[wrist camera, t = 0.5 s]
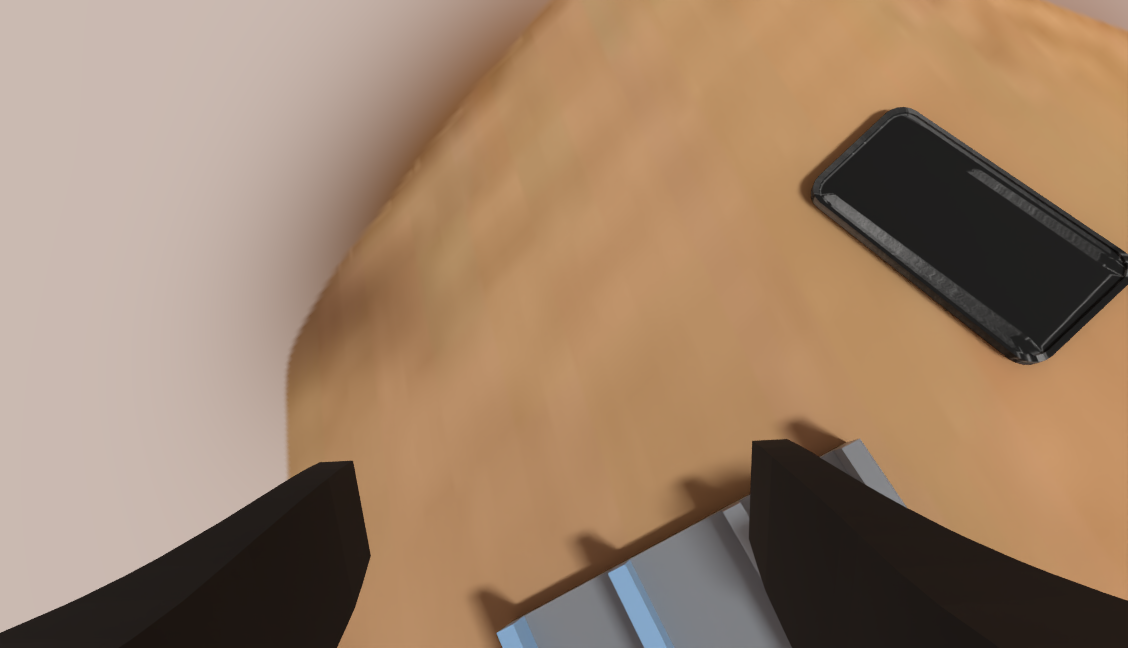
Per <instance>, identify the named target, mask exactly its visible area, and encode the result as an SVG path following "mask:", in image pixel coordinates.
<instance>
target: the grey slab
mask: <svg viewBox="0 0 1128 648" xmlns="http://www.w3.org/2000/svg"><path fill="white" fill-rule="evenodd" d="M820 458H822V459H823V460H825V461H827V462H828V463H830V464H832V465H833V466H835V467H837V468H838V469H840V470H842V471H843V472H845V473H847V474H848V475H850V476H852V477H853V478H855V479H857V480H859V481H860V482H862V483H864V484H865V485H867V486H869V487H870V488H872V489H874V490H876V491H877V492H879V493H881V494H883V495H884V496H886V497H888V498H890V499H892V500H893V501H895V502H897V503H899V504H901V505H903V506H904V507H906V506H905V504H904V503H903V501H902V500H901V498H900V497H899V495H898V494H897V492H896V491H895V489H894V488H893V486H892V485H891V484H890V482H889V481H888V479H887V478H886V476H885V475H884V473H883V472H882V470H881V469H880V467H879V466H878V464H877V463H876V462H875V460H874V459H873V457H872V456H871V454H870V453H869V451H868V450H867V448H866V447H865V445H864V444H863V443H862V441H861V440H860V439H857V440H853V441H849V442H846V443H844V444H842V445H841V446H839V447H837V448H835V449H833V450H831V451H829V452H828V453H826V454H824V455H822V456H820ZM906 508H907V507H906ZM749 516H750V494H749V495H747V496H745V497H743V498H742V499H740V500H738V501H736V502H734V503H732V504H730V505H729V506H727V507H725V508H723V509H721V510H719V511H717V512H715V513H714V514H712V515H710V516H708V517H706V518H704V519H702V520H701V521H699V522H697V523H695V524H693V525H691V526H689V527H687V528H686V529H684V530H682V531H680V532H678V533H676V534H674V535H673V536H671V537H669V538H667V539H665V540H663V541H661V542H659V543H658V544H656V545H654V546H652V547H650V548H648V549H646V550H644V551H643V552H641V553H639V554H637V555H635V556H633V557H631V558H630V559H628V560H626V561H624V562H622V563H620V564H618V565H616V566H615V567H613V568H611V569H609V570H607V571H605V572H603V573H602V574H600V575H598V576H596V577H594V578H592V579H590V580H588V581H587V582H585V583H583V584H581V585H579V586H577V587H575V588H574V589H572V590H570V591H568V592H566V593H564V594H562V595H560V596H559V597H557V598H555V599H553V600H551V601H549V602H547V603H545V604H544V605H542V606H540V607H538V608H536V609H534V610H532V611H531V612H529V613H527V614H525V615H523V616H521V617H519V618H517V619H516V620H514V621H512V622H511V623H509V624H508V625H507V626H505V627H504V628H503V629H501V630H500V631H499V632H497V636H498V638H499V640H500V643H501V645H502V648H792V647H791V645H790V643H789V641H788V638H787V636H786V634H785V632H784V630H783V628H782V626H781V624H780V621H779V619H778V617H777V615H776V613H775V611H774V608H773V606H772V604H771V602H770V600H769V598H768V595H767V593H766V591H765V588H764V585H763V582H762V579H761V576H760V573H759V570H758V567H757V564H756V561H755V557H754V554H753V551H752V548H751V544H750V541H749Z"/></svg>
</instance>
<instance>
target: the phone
mask: <svg viewBox="0 0 1128 648" xmlns="http://www.w3.org/2000/svg"><path fill="white" fill-rule="evenodd" d="M811 199H812V201H813V203H814V204H815V205H816V206H817V208H819V209H820V210H821V211H822V212H824V213H825V214H826V215H828V216H829V217H830V218H831V219H833V220H834V221H835V222H836V223H838V224H839V225H840V226H841V227H843V228H844V229H845V230H847V231H848V232H849V233H850V234H852V235H853V236H854V237H855V238H857V239H858V240H859V241H860V242H862V243H863V244H864V245H865V246H867V247H868V248H869V249H871V250H872V251H873V252H874V253H876V254H877V255H878V256H879V257H881V258H882V259H883V260H884V261H886V262H887V263H888V264H889V265H891V266H892V267H893V268H895V269H896V270H897V271H898V272H900V273H901V274H902V275H903V276H905V277H906V278H907V279H908V280H910V281H911V282H912V283H913V284H915V285H916V286H917V287H919V288H920V289H921V290H922V291H924V292H925V293H926V294H927V295H929V296H930V297H931V298H932V299H934V300H935V301H936V302H938V303H939V304H940V305H941V306H943V307H944V308H945V309H946V310H948V311H949V312H950V313H951V314H953V315H954V316H955V317H956V318H958V319H959V320H960V321H962V322H963V323H964V324H965V325H967V326H968V327H969V328H970V329H972V330H973V331H974V332H975V333H977V334H978V335H979V336H980V337H982V338H983V339H984V340H986V341H987V342H988V343H989V344H991V345H992V346H993V347H994V348H996V349H997V350H998V351H999V352H1001V353H1002V354H1003V355H1005V356H1006V357H1007V358H1008V359H1010V360H1012V361H1013V362H1016V363H1019V364H1023V365H1032V364H1035V363H1039V362H1042V361H1044V360H1047V359H1048V358H1050V357H1051V356H1053V355H1054V354H1055V353H1056V352H1057V351H1058V350H1059V349H1060V348H1061V347H1062V346H1063V345H1064V344H1065V343H1067V342H1068V341H1069V340H1070V339H1071V338H1072V337H1073V336H1074V335H1075V334H1076V333H1077V332H1078V331H1079V330H1080V329H1081V328H1082V327H1083V326H1085V325H1086V324H1087V323H1088V322H1089V321H1090V320H1091V319H1092V318H1093V317H1094V316H1095V315H1096V314H1097V313H1098V312H1099V311H1100V310H1101V309H1103V308H1104V307H1105V306H1106V305H1107V304H1108V303H1109V302H1110V301H1111V300H1112V299H1113V298H1114V297H1115V296H1116V295H1117V294H1118V293H1119V292H1121V291H1122V290H1123V289H1124V288H1125V287H1126V286H1127V285H1128V254H1127V253H1126V252H1124V251H1123V250H1121V249H1120V248H1118V247H1117V246H1115V245H1114V244H1113V243H1111V242H1110V241H1108V240H1107V239H1105V238H1104V237H1102V236H1101V235H1099V234H1098V233H1096V232H1095V231H1093V230H1092V229H1090V228H1089V227H1087V226H1086V225H1084V224H1083V223H1081V222H1080V221H1078V220H1077V219H1075V218H1074V217H1072V216H1071V215H1070V214H1068V213H1067V212H1065V211H1064V210H1062V209H1061V208H1059V207H1058V206H1056V205H1055V204H1053V203H1052V202H1050V201H1049V200H1047V199H1046V198H1044V197H1043V196H1041V195H1040V194H1038V193H1037V192H1035V191H1034V190H1033V189H1031V188H1030V187H1028V186H1027V185H1025V184H1024V183H1022V182H1021V181H1019V180H1018V179H1016V178H1015V177H1013V176H1012V175H1010V174H1009V173H1007V172H1006V171H1004V170H1003V169H1001V168H1000V167H998V166H997V165H996V164H994V163H993V162H991V161H990V160H988V159H987V158H985V157H984V156H982V155H981V154H979V153H978V152H976V151H975V150H973V149H972V148H970V147H969V146H967V145H966V144H964V143H963V142H961V141H960V140H959V139H957V138H956V137H954V136H953V135H951V134H950V133H948V132H947V131H945V130H944V129H942V128H941V127H939V126H938V125H936V124H935V123H933V122H932V121H930V120H929V119H927V118H926V117H924V116H923V115H922V114H920V113H919V112H917V111H915V110H913V109H911V108H906V107H899V108H895V109H892V110H890V111H888V112H887V113H886V114H885V115H883V116H882V117H881V118H880V119H879V120H878V121H877V122H876V123H875V124H874V125H873V126H872V127H871V128H870V129H869V130H867V131H866V132H865V133H864V134H863V135H862V136H861V137H860V138H859V139H858V140H857V141H856V142H855V143H854V144H853V145H851V146H850V147H849V148H848V149H847V150H846V151H845V152H844V153H843V154H842V155H841V156H840V157H839V158H838V159H837V160H835V161H834V162H833V163H832V164H831V165H830V166H829V167H828V168H827V169H826V170H825V171H824V172H823V173H822V174H821V175H819V176H818V178H817V179H816V180H815V182H814V185H813V188H812V191H811Z"/></svg>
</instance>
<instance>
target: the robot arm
mask: <svg viewBox="0 0 1128 648" xmlns="http://www.w3.org/2000/svg"><path fill="white" fill-rule="evenodd" d="M749 541H750V544H751V548H752V551H753V554H754V557H755V561H756V564H757V567H758V570H759V573H760V576H761V579H762V582H763V585H764V588H765V591H766V593H767V595H768V598H769V600H770V602H771V604H772V606H773V608H774V611H775V613H776V615H777V617H778V619H779V621H780V624H781V626H782V628H783V630H784V632H785V634H786V636H787V638H788V641H789V643H790V645H791V647H792V648H1128V601H1127V600H1124V599H1121V598H1118V597H1115V596H1112V595H1109V594H1106V593H1103V592H1100V591H1098V590H1095V589H1092V588H1089V587H1087V586H1084V585H1081V584H1078V583H1076V582H1073V581H1070V580H1068V579H1065V578H1062V577H1059V576H1057V575H1054V574H1051V573H1048V572H1046V571H1043V570H1041V569H1038V568H1036V567H1033V566H1031V565H1028V564H1026V563H1023V562H1021V561H1018V560H1016V559H1014V558H1011V557H1009V556H1007V555H1004V554H1002V553H1000V552H998V551H995V550H993V549H991V548H988V547H986V546H984V545H982V544H979V543H977V542H975V541H973V540H970V539H968V538H966V537H964V536H962V535H960V534H957V533H955V532H953V531H951V530H949V529H947V528H945V527H943V526H941V525H939V524H937V523H935V522H933V521H931V520H929V519H927V518H925V517H924V516H922V515H920V514H918V513H916V512H914V511H912V510H910V509H908V508H906V507H904V506H903V505H901V504H899V503H897V502H895V501H893V500H892V499H890V498H888V497H886V496H884V495H883V494H881V493H879V492H877V491H876V490H874V489H872V488H870V487H869V486H867V485H865V484H864V483H862V482H860V481H859V480H857V479H855V478H853V477H852V476H850V475H848V474H847V473H845V472H843V471H842V470H840V469H838V468H837V467H835V466H833V465H832V464H830V463H828V462H827V461H825V460H823V459H822V458H820V457H818V456H817V455H815V454H813V453H812V452H810V451H808V450H807V449H805V448H803V447H801V446H800V445H798V444H796V443H794V442H792V441H790V440H788V439H782V440H761V441H752V464H751V490H750V516H749ZM370 556H371V555H370V549H369V544H368V539H367V533H366V528H365V523H364V517H363V512H362V507H361V501H360V496H359V491H358V485H357V480H356V475H355V469H354V464H353V461H338V462H320V463H318V464H316V465H313V466H311V467H309V468H308V469H306V470H304V471H302V472H300V473H299V474H297V475H295V476H294V477H292V478H290V479H289V480H287V481H285V482H284V483H282V484H280V485H279V486H277V487H276V488H274V489H272V490H271V491H269V492H268V493H266V494H264V495H263V496H261V497H260V498H258V499H256V500H255V501H253V502H252V503H250V504H249V505H247V506H245V507H244V508H242V509H240V510H239V511H237V512H236V513H234V514H232V515H231V516H229V517H228V518H226V519H224V520H223V521H221V522H220V523H218V524H216V525H215V526H213V527H211V528H209V529H208V530H206V531H204V532H202V533H201V534H199V535H197V536H196V537H194V538H192V539H190V540H189V541H187V542H185V543H184V544H182V545H180V546H178V547H177V548H175V549H173V550H172V551H170V552H168V553H166V554H165V555H163V556H161V557H160V558H158V559H156V560H154V561H152V562H150V563H148V564H147V565H145V566H143V567H141V568H139V569H137V570H135V571H134V572H131V573H130V574H128V575H126V576H124V577H122V578H120V579H118V580H116V581H114V582H112V583H110V584H108V585H106V586H104V587H102V588H99V589H98V590H96V591H93V592H91V593H89V594H87V595H85V596H83V597H81V598H79V599H77V600H75V601H73V602H70V603H68V604H66V605H64V606H62V607H59V608H57V609H54V610H52V611H50V612H48V613H45V614H43V615H41V616H38V617H36V618H34V619H31V620H29V621H27V622H25V623H22V624H20V625H18V626H15V627H13V628H11V629H8V630H6V631H4V632H1V633H0V648H337V646H338V644H339V642H340V640H341V638H342V635H343V633H344V631H345V629H346V627H347V624H348V622H349V620H350V618H351V615H352V613H353V611H354V608H355V605H356V602H357V599H358V596H359V593H360V590H361V587H362V584H363V580H364V577H365V574H366V570H367V567H368V563H369V560H370Z"/></svg>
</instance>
